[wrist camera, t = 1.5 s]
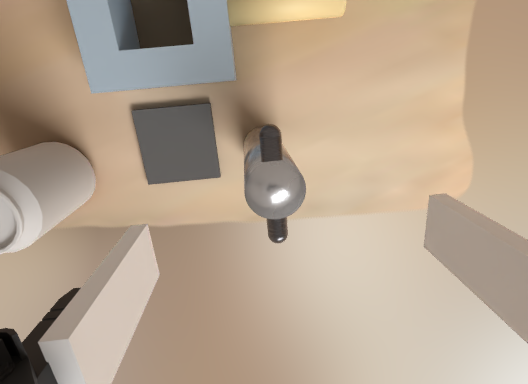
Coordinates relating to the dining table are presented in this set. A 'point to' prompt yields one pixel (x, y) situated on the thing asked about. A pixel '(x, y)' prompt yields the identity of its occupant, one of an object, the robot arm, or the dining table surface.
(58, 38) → the dining table surface
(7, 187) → the can
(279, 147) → the silver tall rounded piece
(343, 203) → the dining table surface
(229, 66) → the block
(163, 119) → the mat
